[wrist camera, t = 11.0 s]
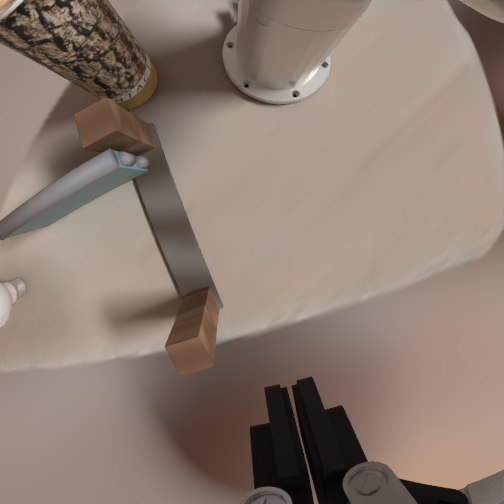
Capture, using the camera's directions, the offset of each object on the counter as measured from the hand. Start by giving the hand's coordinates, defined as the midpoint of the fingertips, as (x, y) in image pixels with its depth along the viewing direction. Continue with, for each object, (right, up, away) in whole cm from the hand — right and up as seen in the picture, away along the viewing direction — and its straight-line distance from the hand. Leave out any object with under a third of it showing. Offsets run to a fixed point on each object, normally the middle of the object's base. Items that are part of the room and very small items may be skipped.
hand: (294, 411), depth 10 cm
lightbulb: (-34, +1, +25) cm, 42 cm away
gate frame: (-11, +9, +24) cm, 28 cm away
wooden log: (-16, +25, +21) cm, 36 cm away
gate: (-20, +13, +22) cm, 32 cm away
